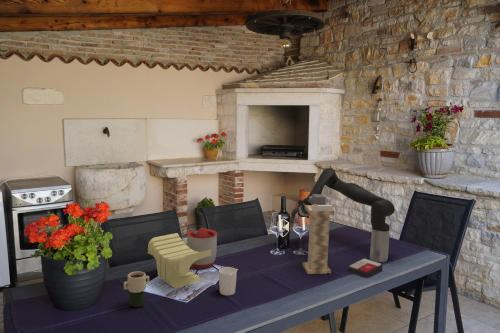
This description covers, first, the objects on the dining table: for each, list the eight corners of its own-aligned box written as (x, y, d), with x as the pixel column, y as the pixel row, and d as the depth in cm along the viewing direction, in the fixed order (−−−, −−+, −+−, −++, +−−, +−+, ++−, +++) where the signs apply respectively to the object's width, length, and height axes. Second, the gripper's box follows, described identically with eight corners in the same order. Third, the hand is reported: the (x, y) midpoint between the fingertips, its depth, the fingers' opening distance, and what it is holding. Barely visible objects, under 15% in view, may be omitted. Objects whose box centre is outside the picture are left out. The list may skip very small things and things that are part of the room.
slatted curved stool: (148, 274, 197) (148, 238, 195) (177, 266, 207) (177, 232, 205) (179, 296, 174) (179, 256, 172) (210, 287, 185) (211, 249, 182)
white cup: (229, 297, 175) (230, 275, 173) (214, 293, 179) (215, 271, 177) (239, 291, 181) (240, 269, 180) (225, 286, 185) (225, 265, 184)
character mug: (145, 298, 172) (145, 268, 171) (153, 304, 167) (153, 274, 165) (120, 305, 165) (120, 274, 164) (128, 312, 160) (127, 280, 158)
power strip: (331, 209, 202) (331, 203, 201) (332, 211, 199) (333, 204, 199) (311, 209, 200) (311, 203, 200) (312, 211, 198) (313, 204, 197)
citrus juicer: (207, 256, 223) (208, 220, 220) (222, 267, 208) (222, 229, 205) (180, 261, 215) (180, 224, 212) (193, 272, 200) (194, 233, 197)
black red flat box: (347, 265, 206) (363, 257, 216) (347, 273, 207) (363, 264, 217) (367, 272, 198) (382, 263, 208) (366, 280, 199) (382, 271, 209)
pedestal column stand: (324, 264, 215) (327, 205, 211) (331, 273, 204) (334, 211, 199) (301, 264, 214) (304, 205, 210) (307, 274, 202) (310, 211, 198)
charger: (316, 201, 218) (316, 190, 218) (325, 209, 203) (325, 197, 202) (307, 201, 218) (307, 190, 217) (315, 209, 202) (316, 197, 201)
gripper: (319, 214, 227) (328, 206, 212) (294, 214, 225) (301, 206, 210) (318, 201, 230) (327, 192, 215) (293, 201, 228) (300, 192, 213)
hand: (314, 199), depth 213 cm, fingers open, 8 cm apart
